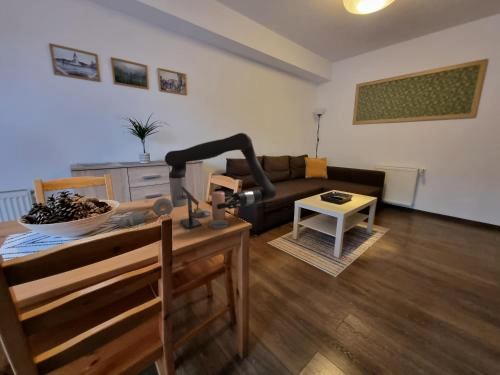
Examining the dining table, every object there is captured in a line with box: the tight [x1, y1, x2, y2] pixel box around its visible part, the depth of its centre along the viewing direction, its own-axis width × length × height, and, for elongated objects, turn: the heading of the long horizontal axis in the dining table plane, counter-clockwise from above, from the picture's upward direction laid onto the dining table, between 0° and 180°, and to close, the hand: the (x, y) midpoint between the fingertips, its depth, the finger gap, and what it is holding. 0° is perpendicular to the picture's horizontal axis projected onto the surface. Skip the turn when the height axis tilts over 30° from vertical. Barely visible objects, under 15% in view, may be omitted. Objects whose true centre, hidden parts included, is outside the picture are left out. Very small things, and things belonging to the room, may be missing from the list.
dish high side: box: [196, 209, 212, 219], centre depth 112 cm, size 9×9×1 cm
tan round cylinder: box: [210, 190, 226, 221], centre depth 96 cm, size 6×6×12 cm
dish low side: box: [208, 219, 229, 230], centre depth 98 cm, size 9×9×1 cm
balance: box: [176, 187, 205, 231], centre depth 97 cm, size 23×7×17 cm, turn 38°
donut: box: [152, 197, 174, 217], centre depth 108 cm, size 10×3×10 cm, turn 120°
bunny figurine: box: [116, 210, 155, 228], centre depth 100 cm, size 10×5×15 cm
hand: (213, 205), depth 94 cm, fingers closed on tan round cylinder, 6 cm apart
